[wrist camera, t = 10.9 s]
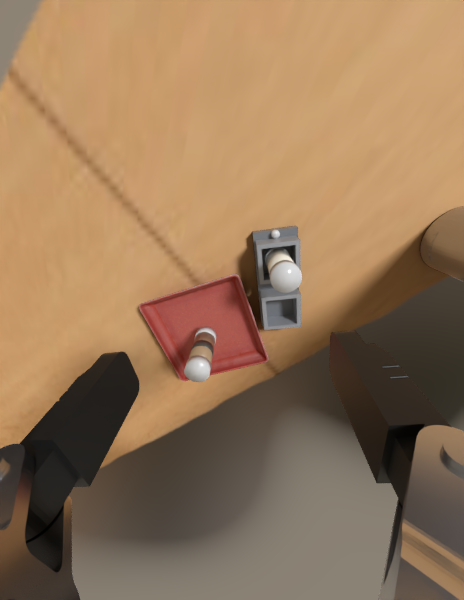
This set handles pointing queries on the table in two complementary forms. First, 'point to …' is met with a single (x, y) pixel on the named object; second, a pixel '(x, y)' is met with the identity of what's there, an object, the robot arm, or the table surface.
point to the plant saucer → (207, 312)
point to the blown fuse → (201, 355)
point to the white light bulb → (282, 270)
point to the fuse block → (273, 304)
